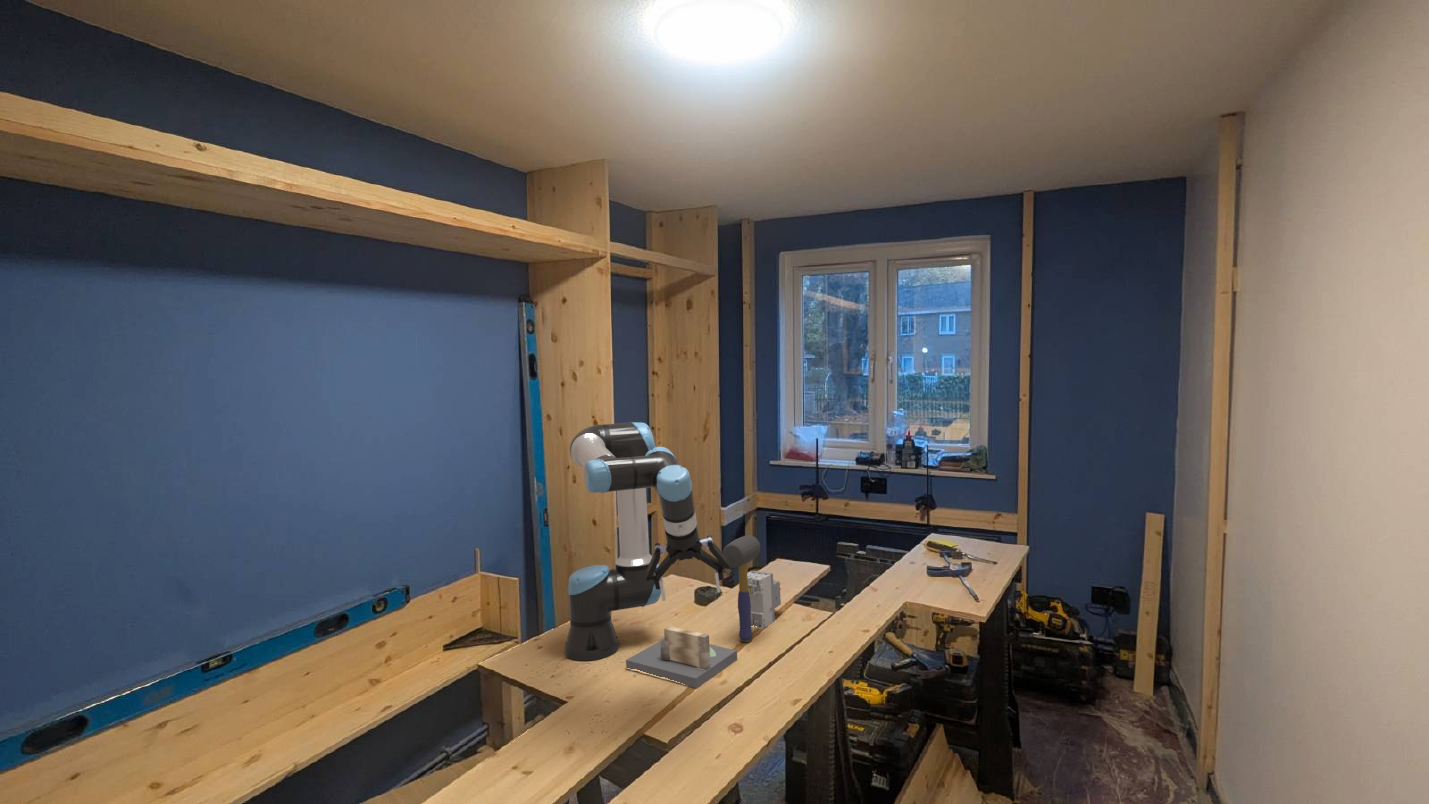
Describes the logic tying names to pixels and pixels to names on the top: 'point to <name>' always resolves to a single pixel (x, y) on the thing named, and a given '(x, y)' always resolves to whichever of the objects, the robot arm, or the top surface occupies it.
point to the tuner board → (681, 665)
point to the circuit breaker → (763, 598)
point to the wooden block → (685, 647)
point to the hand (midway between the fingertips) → (691, 592)
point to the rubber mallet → (743, 578)
